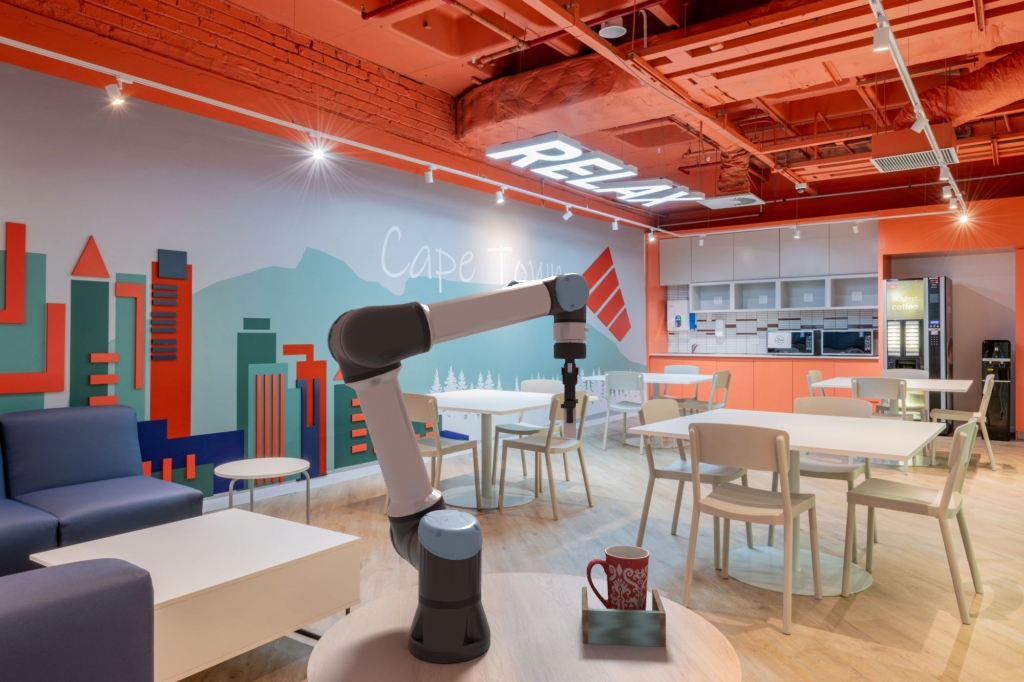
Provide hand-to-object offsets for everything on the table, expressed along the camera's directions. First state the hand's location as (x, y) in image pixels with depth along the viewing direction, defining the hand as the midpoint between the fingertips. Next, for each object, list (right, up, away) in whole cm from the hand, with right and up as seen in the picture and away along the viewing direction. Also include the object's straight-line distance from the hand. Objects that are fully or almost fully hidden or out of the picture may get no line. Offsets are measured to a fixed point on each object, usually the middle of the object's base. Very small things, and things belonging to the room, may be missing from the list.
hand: (569, 434), depth 147 cm
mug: (+8, -35, -19) cm, 40 cm away
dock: (+8, -34, -24) cm, 43 cm away
